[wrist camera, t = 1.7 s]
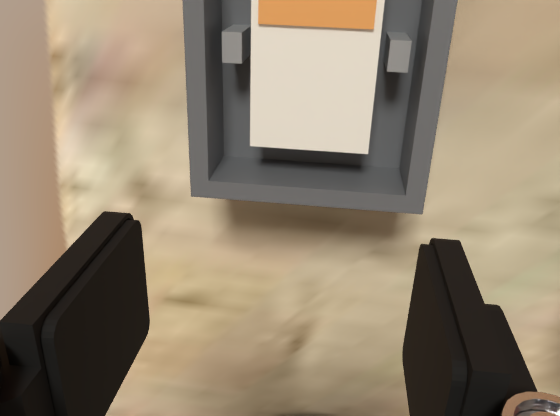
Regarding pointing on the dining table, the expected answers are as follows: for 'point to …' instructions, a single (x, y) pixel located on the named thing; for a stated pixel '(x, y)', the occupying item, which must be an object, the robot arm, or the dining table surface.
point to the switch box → (309, 163)
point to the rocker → (314, 73)
